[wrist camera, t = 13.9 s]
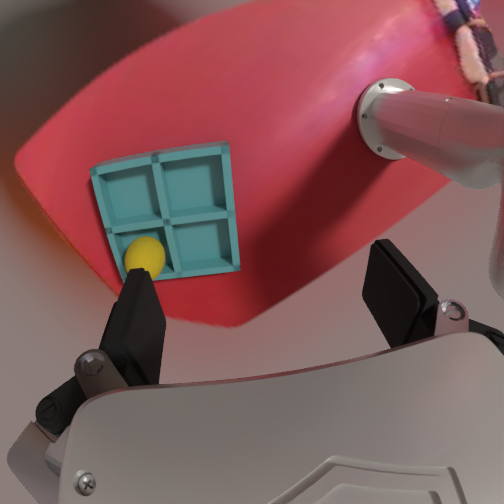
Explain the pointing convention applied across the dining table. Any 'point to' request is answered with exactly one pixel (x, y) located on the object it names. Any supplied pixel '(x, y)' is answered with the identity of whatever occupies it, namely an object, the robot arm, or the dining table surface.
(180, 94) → the dining table surface
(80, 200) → the dining table surface
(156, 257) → the lemon
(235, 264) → the square compartment tray
